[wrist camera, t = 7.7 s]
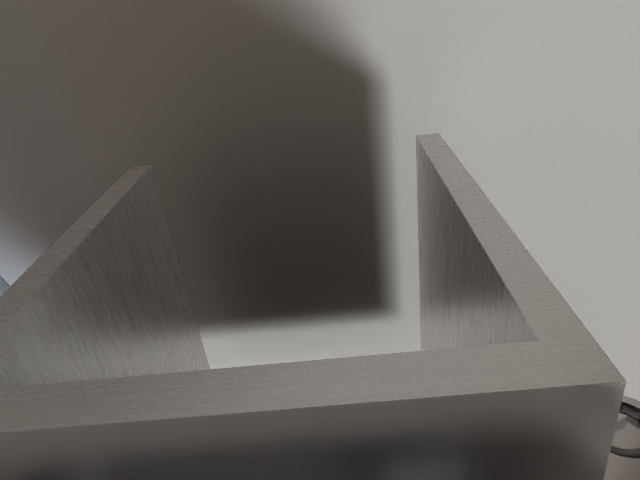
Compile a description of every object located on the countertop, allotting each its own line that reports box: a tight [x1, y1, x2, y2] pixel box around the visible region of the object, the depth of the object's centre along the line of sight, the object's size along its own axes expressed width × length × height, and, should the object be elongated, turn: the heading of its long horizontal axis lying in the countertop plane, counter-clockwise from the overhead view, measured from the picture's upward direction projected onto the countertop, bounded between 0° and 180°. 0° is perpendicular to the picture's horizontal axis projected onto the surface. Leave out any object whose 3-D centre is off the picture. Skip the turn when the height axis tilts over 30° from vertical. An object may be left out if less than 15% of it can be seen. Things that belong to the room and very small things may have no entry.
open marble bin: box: [0, 133, 626, 480], centre depth 9 cm, size 7×7×8 cm
